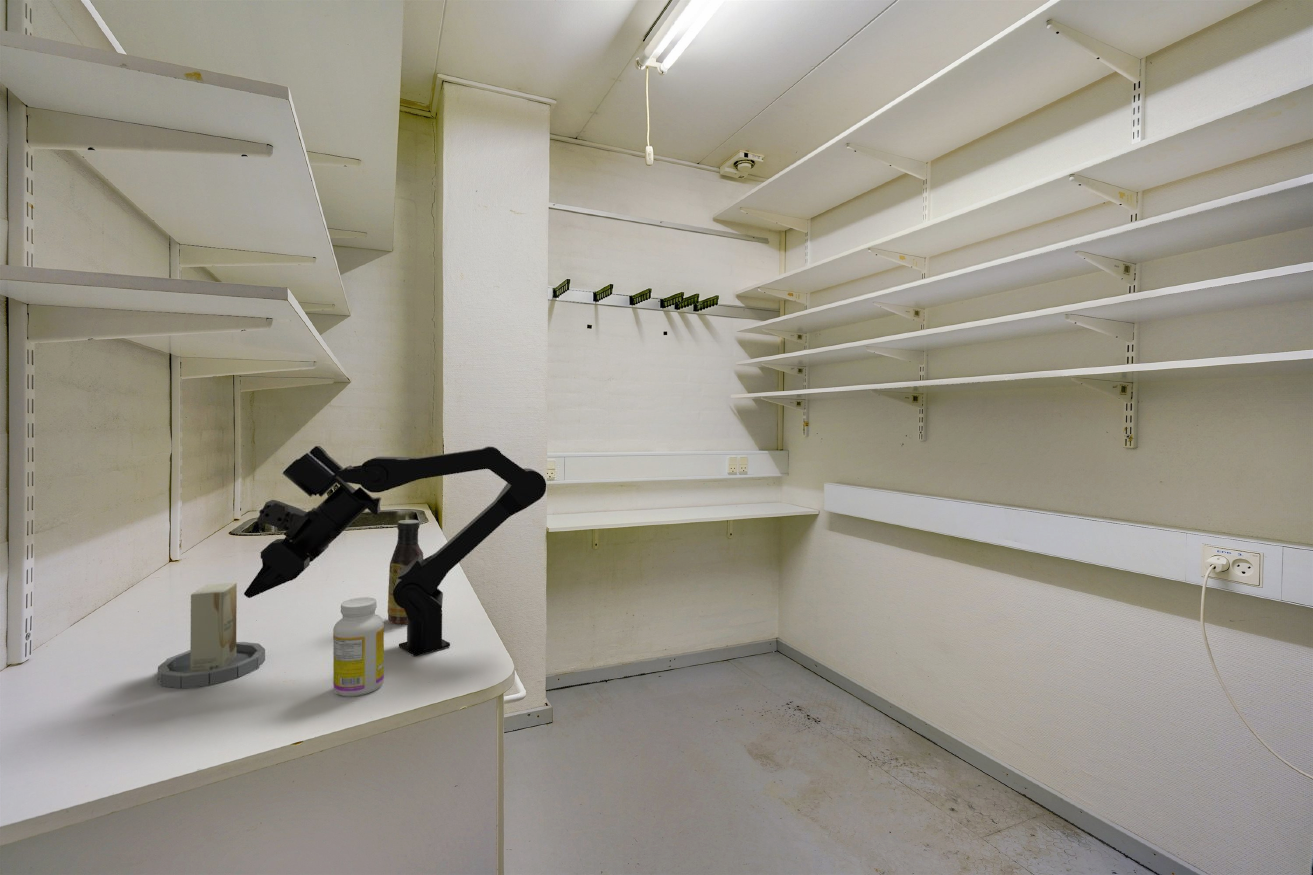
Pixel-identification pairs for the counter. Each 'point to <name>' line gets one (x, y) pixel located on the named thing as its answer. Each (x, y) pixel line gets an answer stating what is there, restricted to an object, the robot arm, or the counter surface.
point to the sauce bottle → (402, 564)
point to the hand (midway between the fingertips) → (256, 587)
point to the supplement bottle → (358, 648)
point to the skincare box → (213, 627)
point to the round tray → (179, 675)
